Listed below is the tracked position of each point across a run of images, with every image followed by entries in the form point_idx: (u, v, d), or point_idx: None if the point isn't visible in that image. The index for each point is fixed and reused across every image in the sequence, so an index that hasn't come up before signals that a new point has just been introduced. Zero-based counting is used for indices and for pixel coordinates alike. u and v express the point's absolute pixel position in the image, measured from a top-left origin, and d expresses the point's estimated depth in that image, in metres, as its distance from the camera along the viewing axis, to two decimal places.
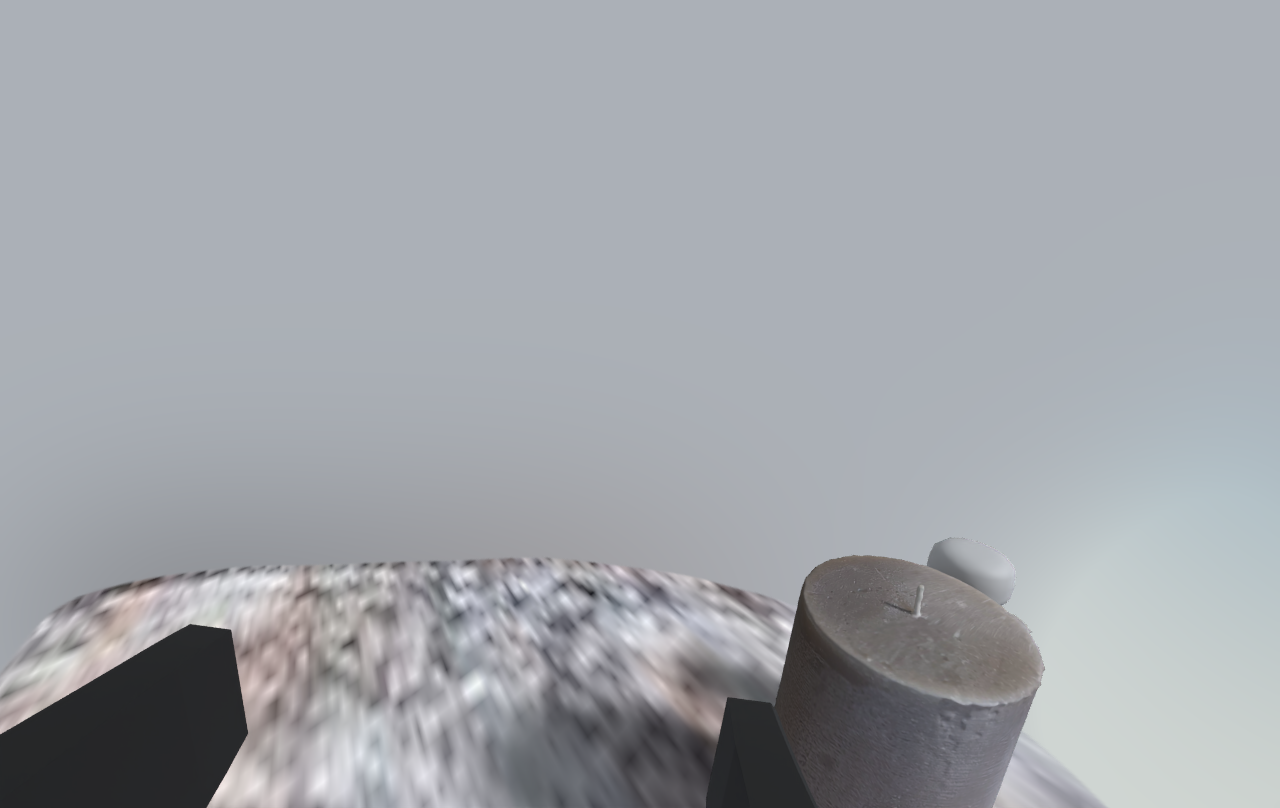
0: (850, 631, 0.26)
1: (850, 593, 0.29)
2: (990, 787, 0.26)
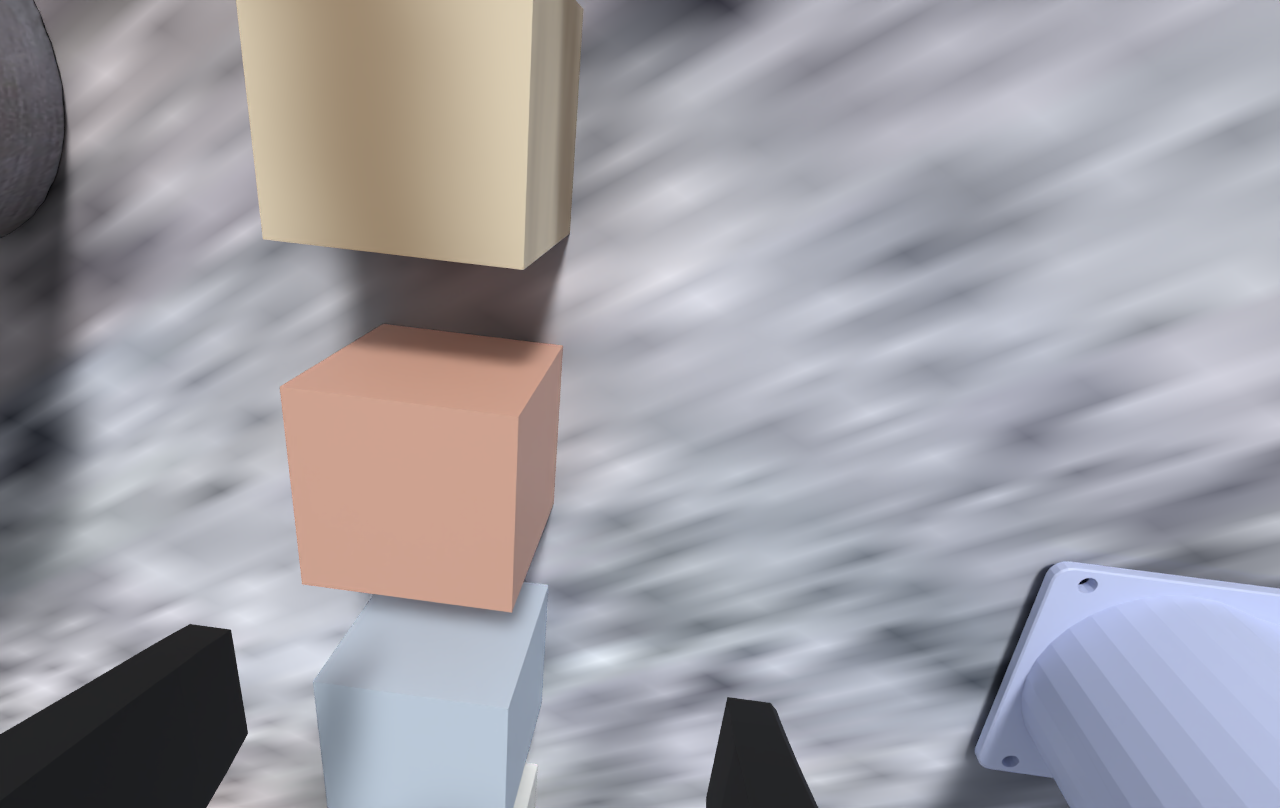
0: None
1: None
2: None
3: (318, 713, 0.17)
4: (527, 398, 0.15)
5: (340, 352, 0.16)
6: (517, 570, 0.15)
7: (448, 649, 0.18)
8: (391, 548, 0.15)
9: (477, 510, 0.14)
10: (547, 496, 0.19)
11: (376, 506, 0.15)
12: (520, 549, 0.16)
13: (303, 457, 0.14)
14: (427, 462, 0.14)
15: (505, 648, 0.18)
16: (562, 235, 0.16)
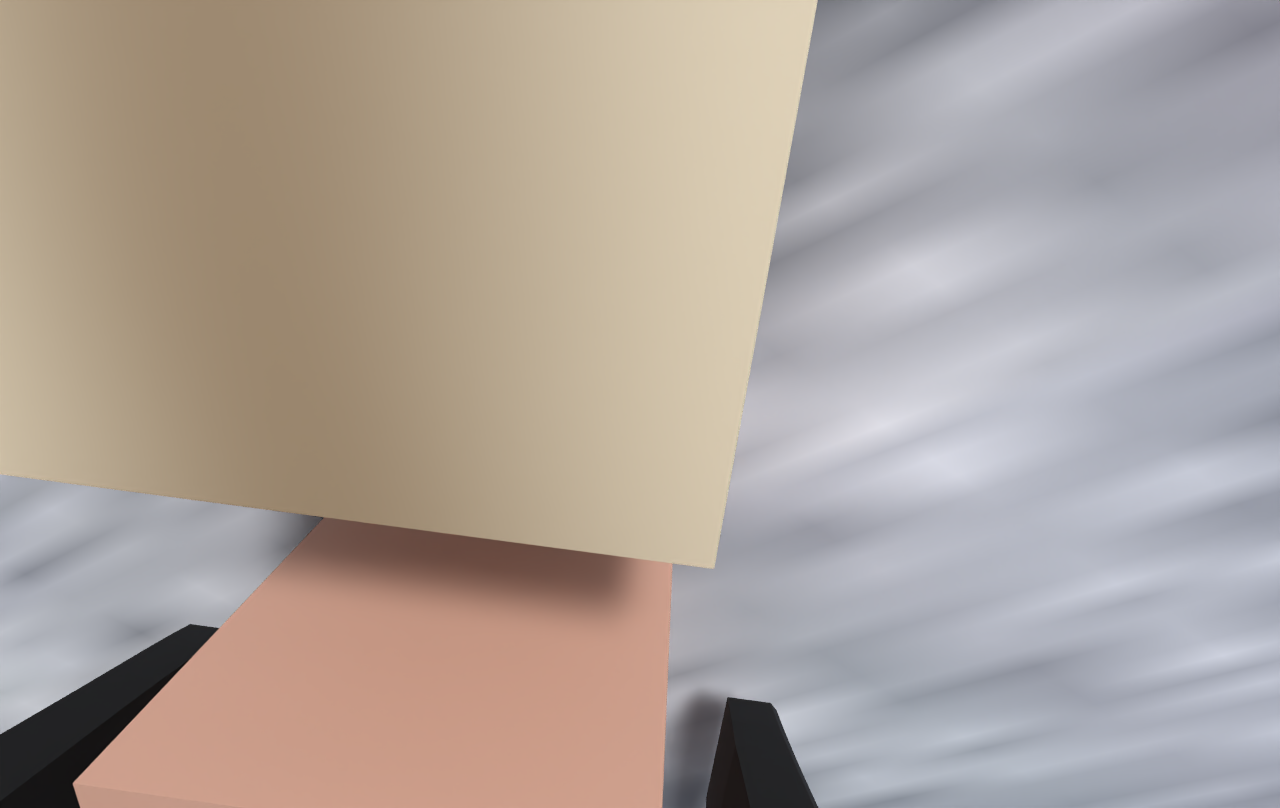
0: None
1: None
2: None
3: None
4: (657, 759, 0.06)
5: (253, 604, 0.08)
6: None
7: None
8: None
9: None
10: None
11: None
12: None
13: None
14: None
15: None
16: None
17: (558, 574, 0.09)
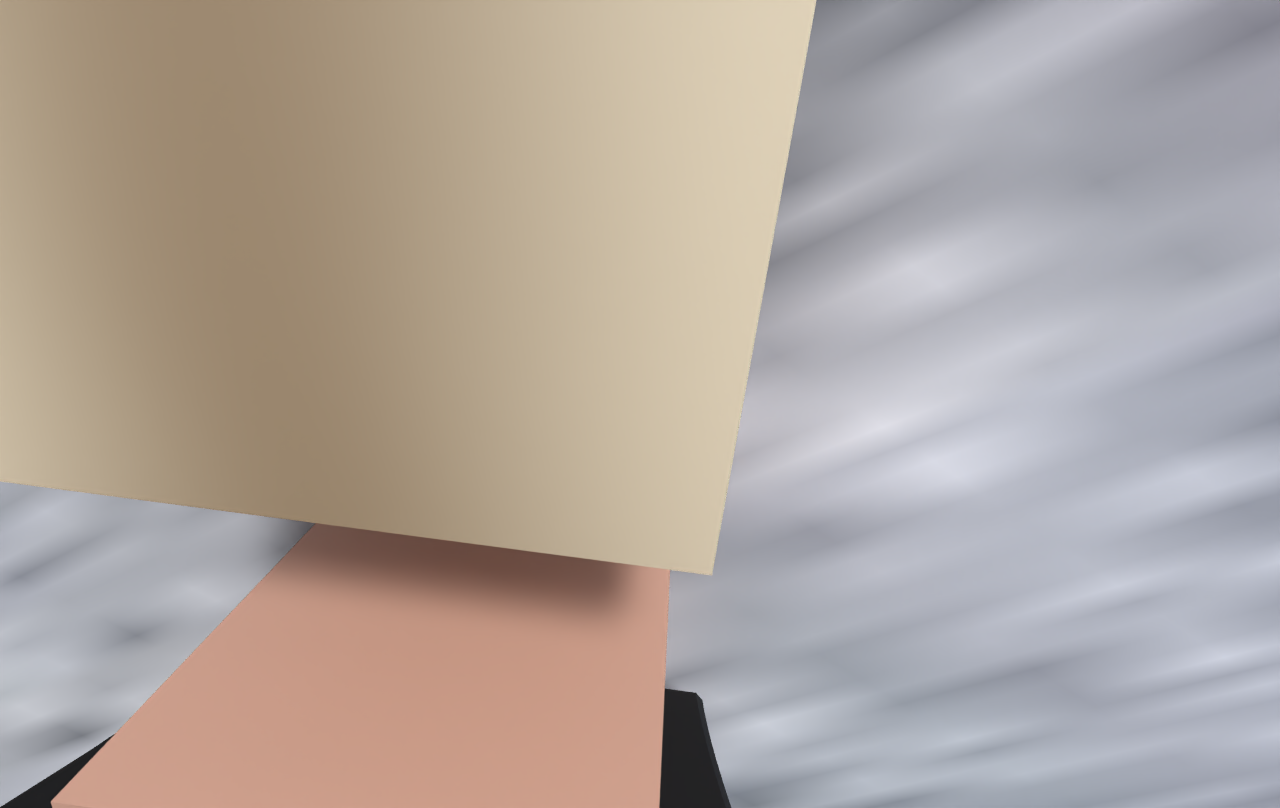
0: None
1: None
2: None
3: None
4: (653, 773, 0.06)
5: (241, 614, 0.08)
6: None
7: None
8: None
9: None
10: None
11: None
12: None
13: None
14: None
15: None
16: None
17: (553, 582, 0.09)
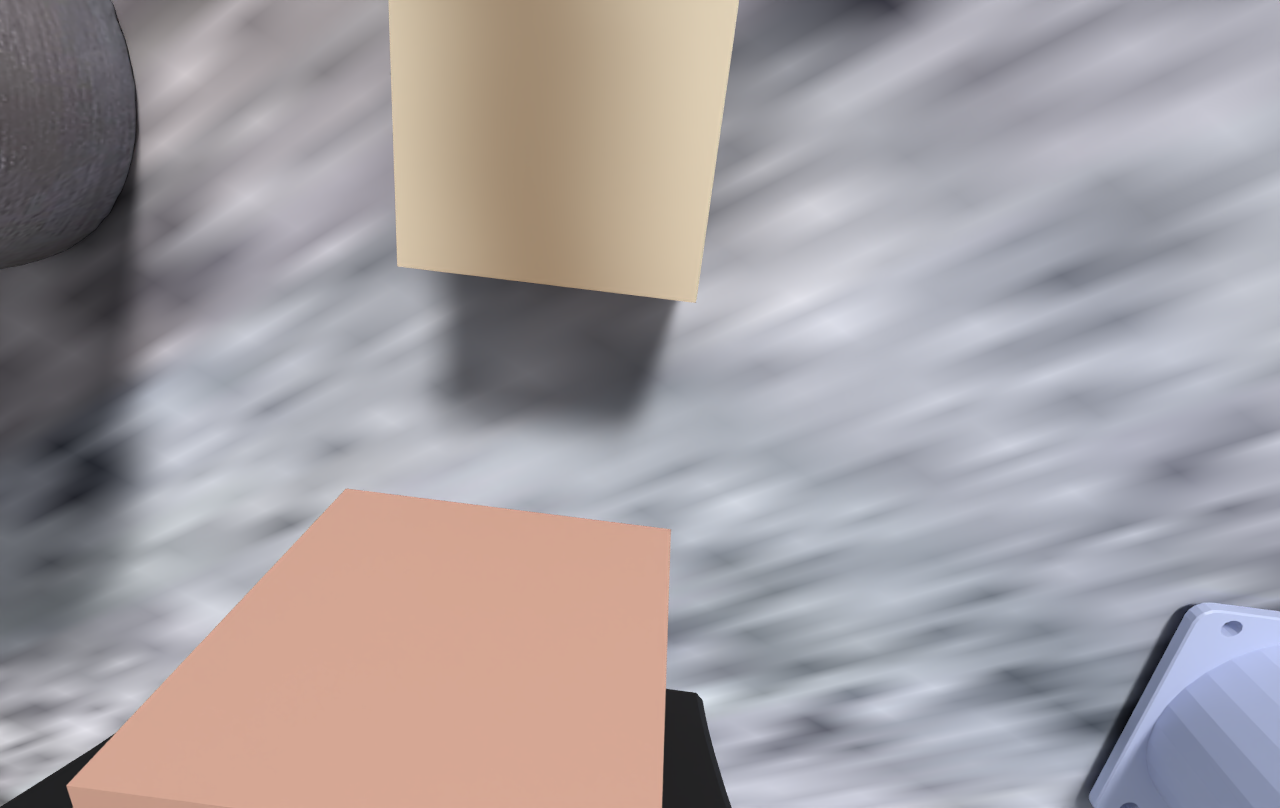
0: None
1: None
2: None
3: None
4: (655, 757, 0.06)
5: (248, 605, 0.08)
6: None
7: None
8: None
9: None
10: None
11: None
12: None
13: None
14: None
15: None
16: None
17: (555, 572, 0.09)
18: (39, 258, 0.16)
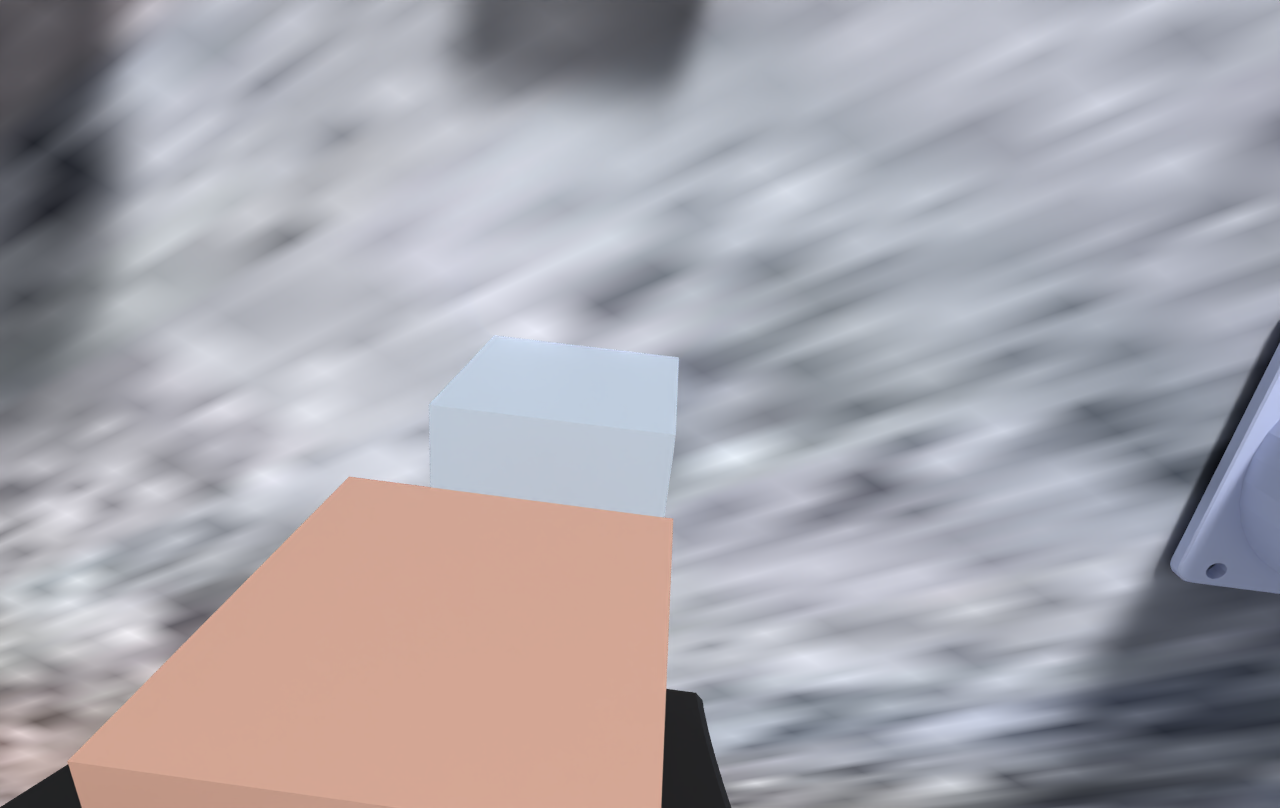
0: None
1: None
2: None
3: (431, 455, 0.14)
4: (656, 739, 0.06)
5: (251, 588, 0.08)
6: None
7: (582, 391, 0.15)
8: None
9: None
10: None
11: None
12: None
13: None
14: None
15: (650, 394, 0.15)
16: None
17: (557, 560, 0.09)
18: None
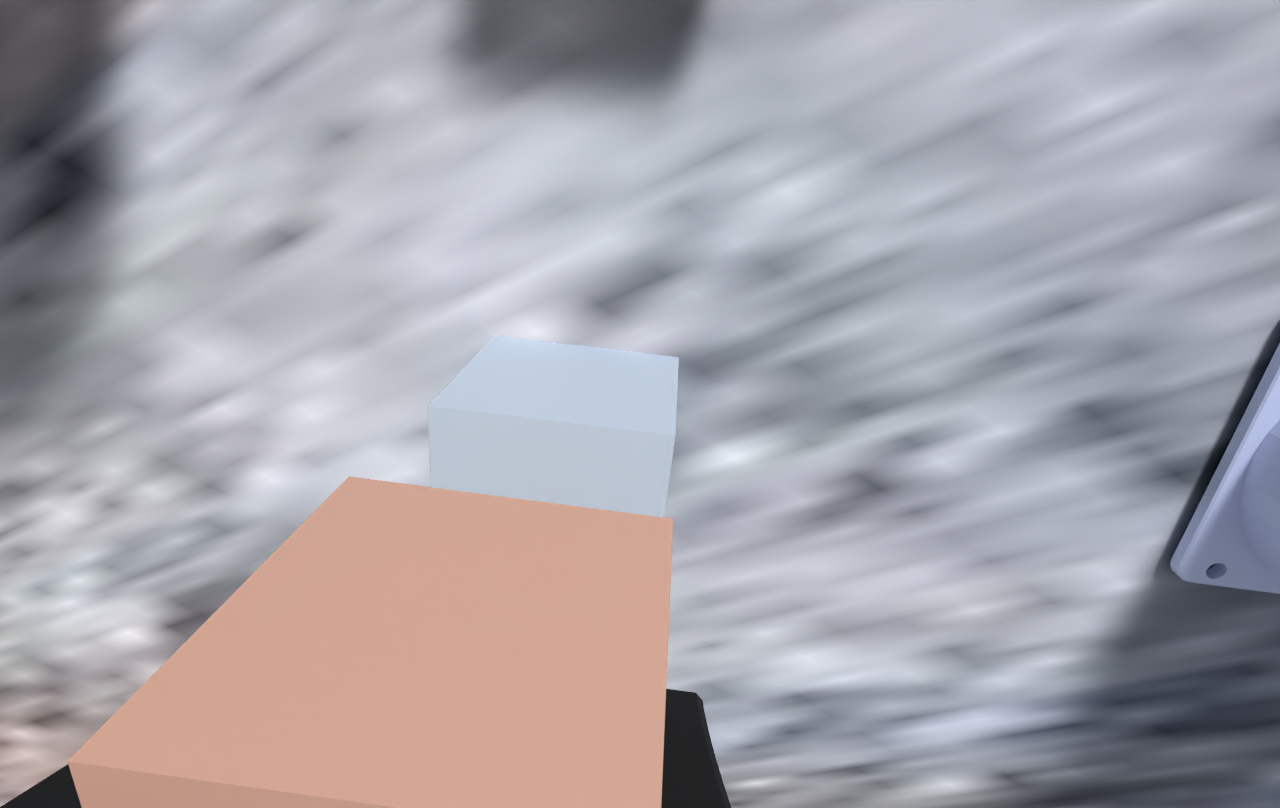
0: None
1: None
2: None
3: (430, 455, 0.14)
4: (656, 739, 0.06)
5: (251, 588, 0.08)
6: None
7: (582, 392, 0.15)
8: None
9: None
10: None
11: None
12: None
13: None
14: None
15: (650, 395, 0.15)
16: None
17: (557, 560, 0.09)
18: None
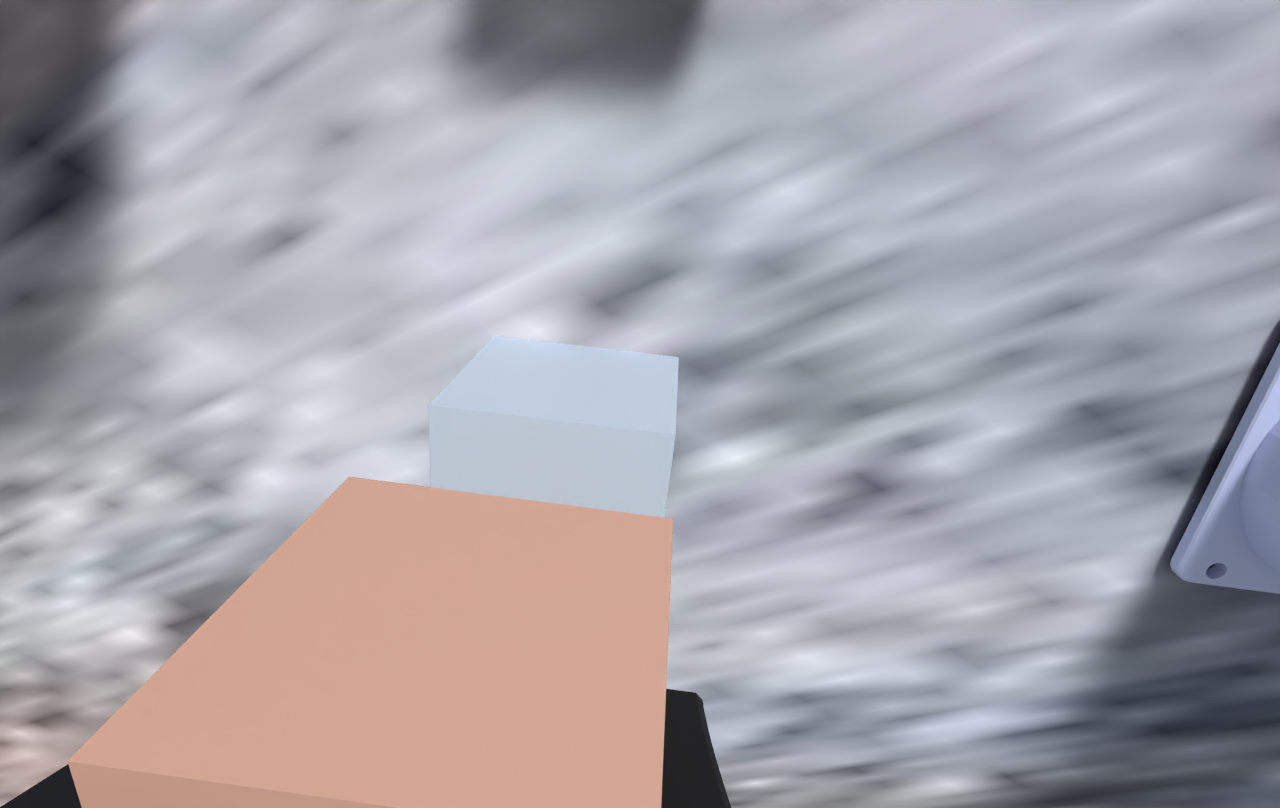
0: None
1: None
2: None
3: (430, 455, 0.14)
4: (656, 739, 0.06)
5: (251, 588, 0.08)
6: None
7: (582, 391, 0.15)
8: None
9: None
10: None
11: None
12: None
13: None
14: None
15: (650, 394, 0.15)
16: None
17: (557, 560, 0.09)
18: None
